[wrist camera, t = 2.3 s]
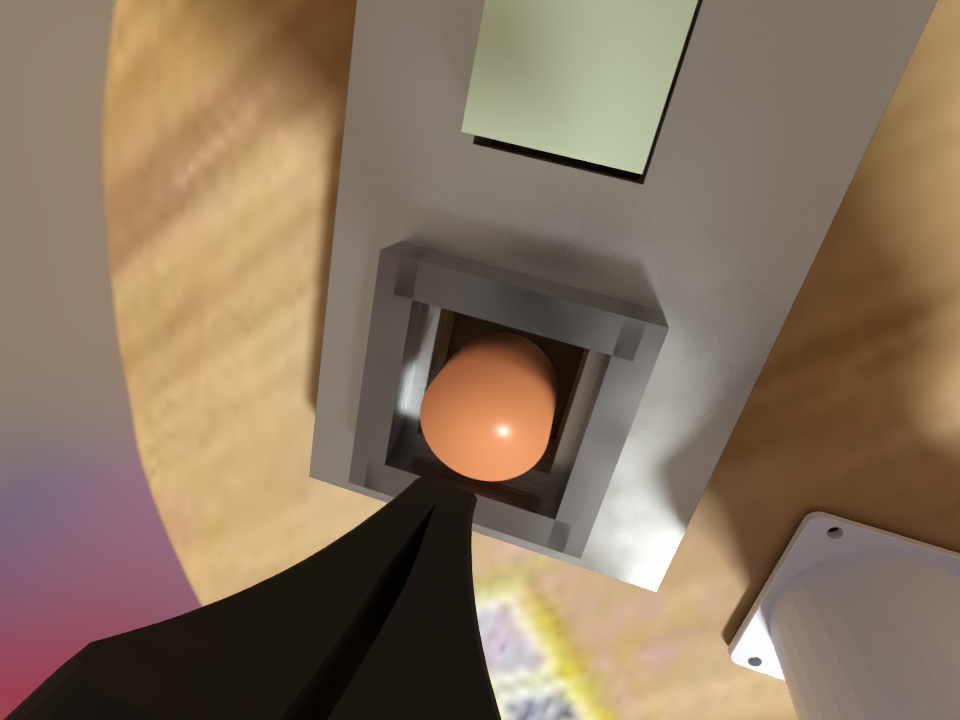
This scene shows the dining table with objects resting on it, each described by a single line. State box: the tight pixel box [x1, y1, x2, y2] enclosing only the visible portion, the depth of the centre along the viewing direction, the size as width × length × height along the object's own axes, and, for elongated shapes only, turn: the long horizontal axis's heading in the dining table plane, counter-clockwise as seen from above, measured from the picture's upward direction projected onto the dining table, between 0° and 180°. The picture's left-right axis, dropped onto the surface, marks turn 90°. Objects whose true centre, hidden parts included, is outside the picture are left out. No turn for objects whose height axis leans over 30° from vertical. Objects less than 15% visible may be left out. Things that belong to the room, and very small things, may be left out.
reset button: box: [420, 332, 558, 481], centre depth 17 cm, size 4×4×3 cm
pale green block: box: [461, 0, 698, 174], centre depth 13 cm, size 4×4×4 cm
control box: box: [309, 0, 937, 592], centre depth 16 cm, size 14×22×4 cm, turn 168°
